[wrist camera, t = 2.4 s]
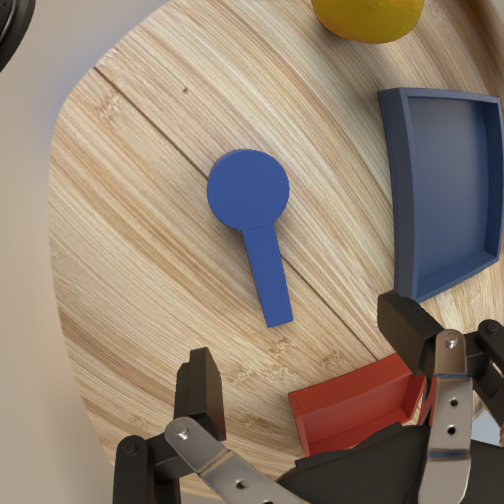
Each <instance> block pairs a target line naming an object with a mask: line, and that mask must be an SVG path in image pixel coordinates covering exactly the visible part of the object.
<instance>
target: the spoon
mask: <svg viewBox="0 0 504 504" xmlns="http://www.w3.org/2000/svg"><path fill="white" fill-rule="evenodd" d="M207 198H208V202H209V205H210V208H211V210H212V212H213V213H214V215H215V216H216V217H217V218H218V219H219V220H220V221H221V222H222V223H224V224H225V225H227V226H229V227H231V228H233V229H236V230H241V234H242V237H243V241H244V245H245V249H246V252H247V256H248V260H249V263H250V267H251V271H252V275H253V278H254V282H255V286H256V290H257V293H258V297H259V301H260V304H261V308H262V311H263V315H264V318H265V321H266V324H267V327H268V328H270V327H274V326H277V325H281V324H284V323H288V322H291V321H293V315H292V310H291V305H290V300H289V295H288V290H287V285H286V280H285V275H284V270H283V265H282V261H281V256H280V251H279V246H278V242H277V237H276V232H275V228H274V223H273V222H274V221H275V220H276V219H277V218H278V217H279V216H280V215H281V213H282V212H283V211H284V209H285V207H286V204H287V202H288V198H289V181H288V177H287V175H286V172H285V170H284V169H283V167H282V166H281V165H280V163H279V162H278V161H277V160H276V159H274V158H273V157H271V156H270V155H268V154H266V153H263V152H260V151H256V150H251V149H238V150H234V151H231V152H229V153H227V154H225V155H223V156H222V157H221V158H220V159H218V160H217V162H216V163H215V164H214V166H213V167H212V169H211V171H210V174H209V177H208V184H207Z"/></svg>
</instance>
